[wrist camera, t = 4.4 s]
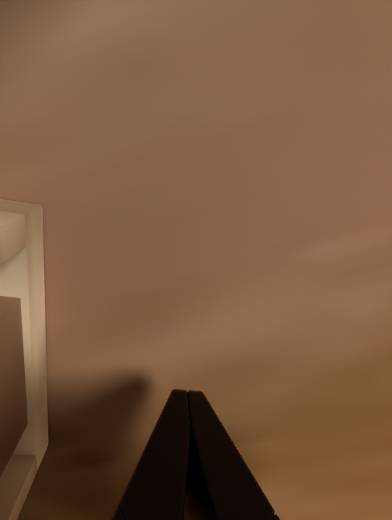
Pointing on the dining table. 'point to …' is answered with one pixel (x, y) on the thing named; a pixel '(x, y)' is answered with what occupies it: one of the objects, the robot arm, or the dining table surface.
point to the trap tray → (25, 343)
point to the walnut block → (11, 379)
